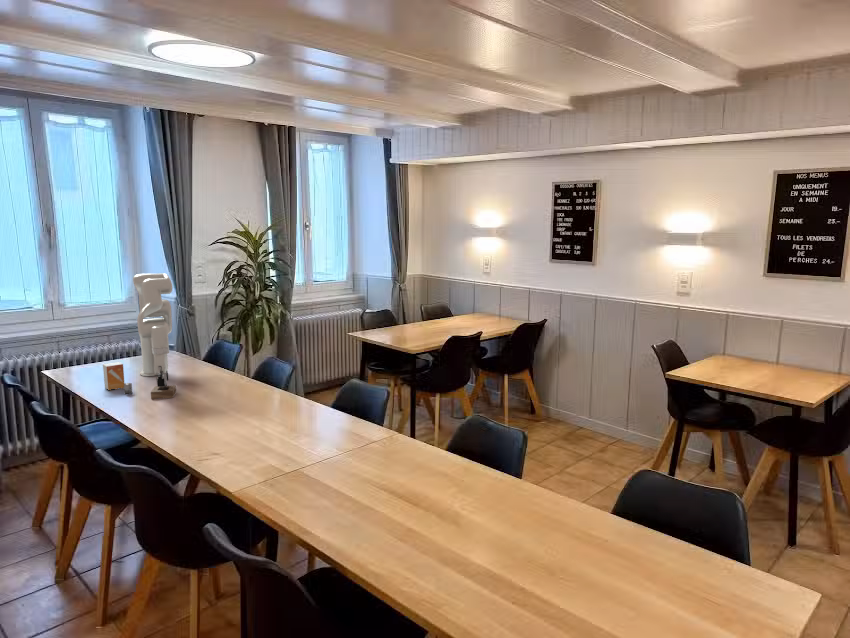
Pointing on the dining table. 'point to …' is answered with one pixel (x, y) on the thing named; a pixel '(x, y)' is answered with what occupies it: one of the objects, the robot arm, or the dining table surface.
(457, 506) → the dining table surface
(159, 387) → the long pin
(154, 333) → the robot arm
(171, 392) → the socket block
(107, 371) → the small box
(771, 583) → the dining table surface
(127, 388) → the short pin
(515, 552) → the dining table surface
